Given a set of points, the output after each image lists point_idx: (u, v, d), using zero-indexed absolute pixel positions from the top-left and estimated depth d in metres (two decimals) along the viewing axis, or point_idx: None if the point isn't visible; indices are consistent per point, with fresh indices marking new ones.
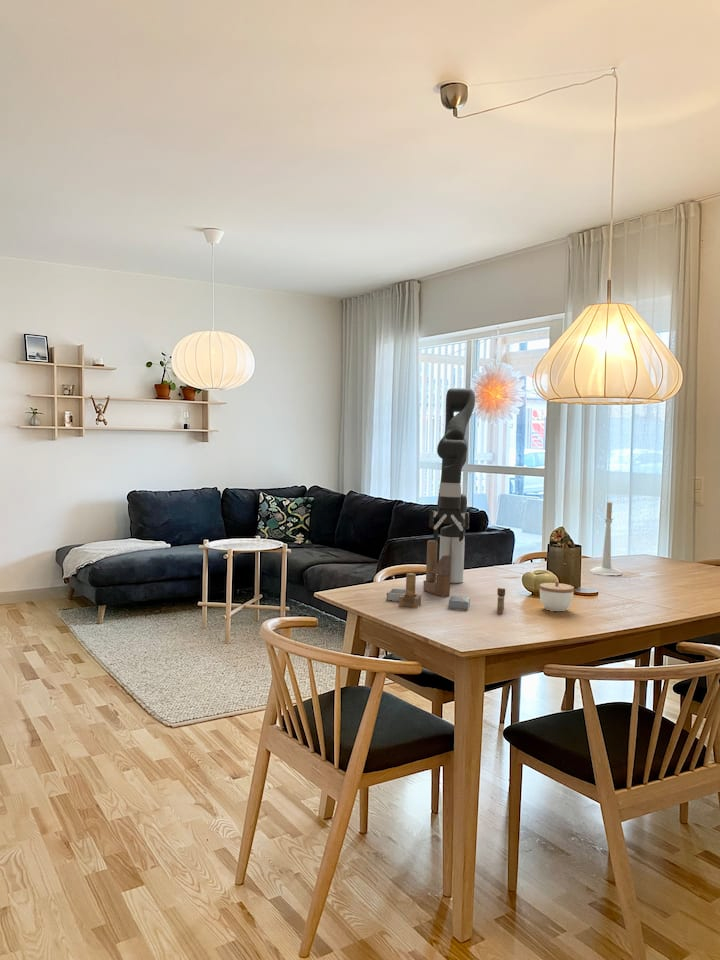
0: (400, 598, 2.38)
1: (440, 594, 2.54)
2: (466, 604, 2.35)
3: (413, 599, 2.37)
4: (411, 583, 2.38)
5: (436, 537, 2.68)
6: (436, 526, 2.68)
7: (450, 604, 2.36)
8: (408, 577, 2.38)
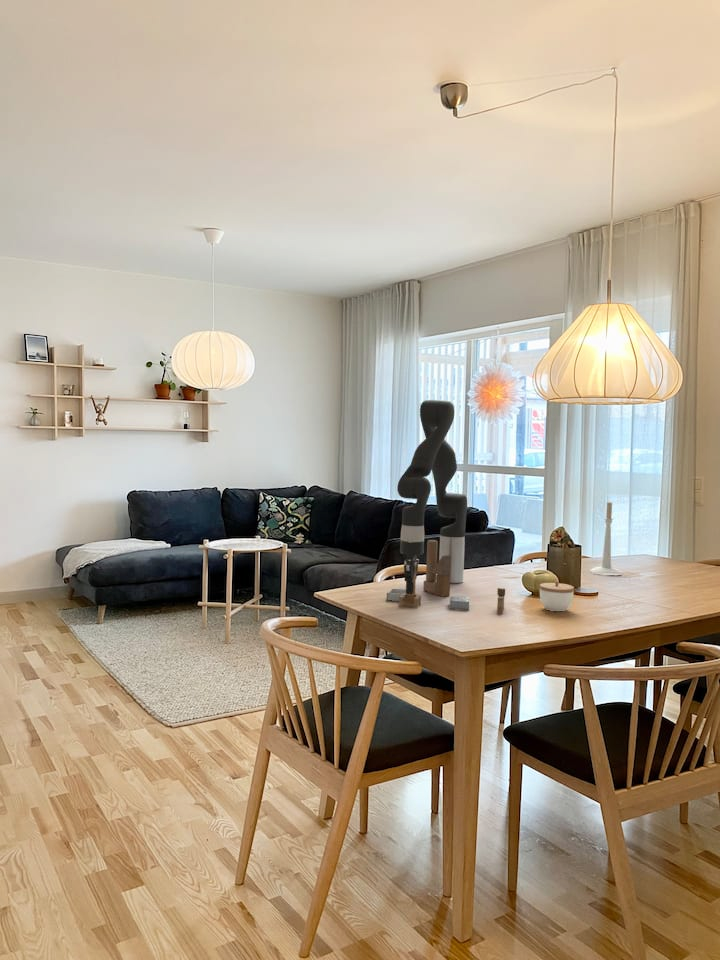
0: (400, 598, 2.38)
1: (440, 594, 2.54)
2: (467, 604, 2.35)
3: (413, 599, 2.37)
4: None
5: (412, 590, 2.38)
6: (413, 578, 2.38)
7: (451, 605, 2.36)
8: None
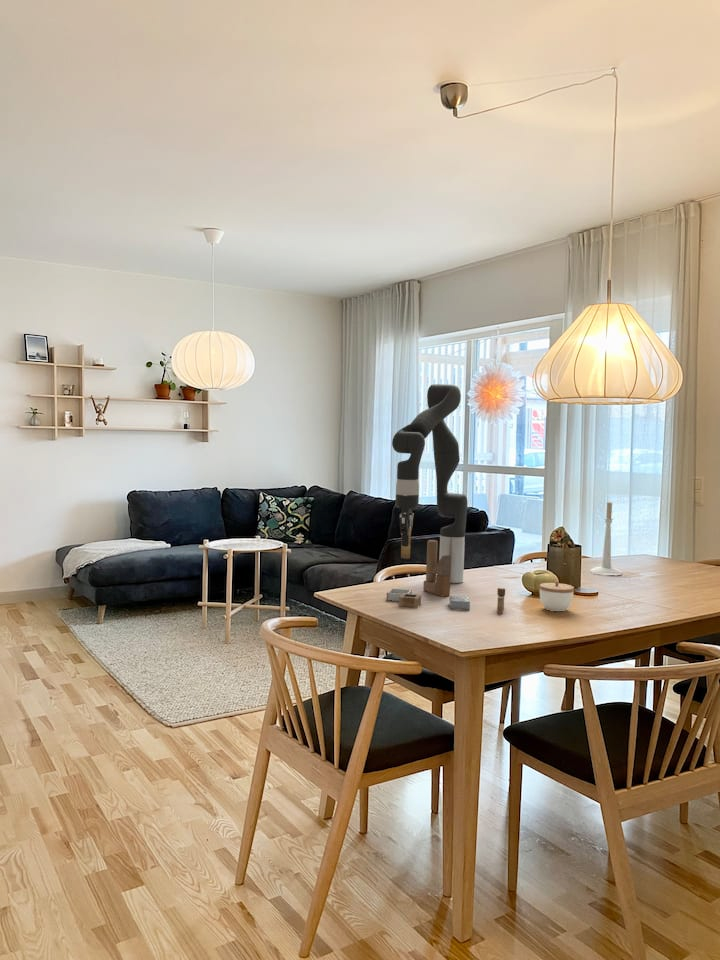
0: (400, 598, 2.38)
1: (440, 594, 2.54)
2: (468, 604, 2.36)
3: (413, 599, 2.37)
4: None
5: None
6: None
7: (452, 605, 2.36)
8: None
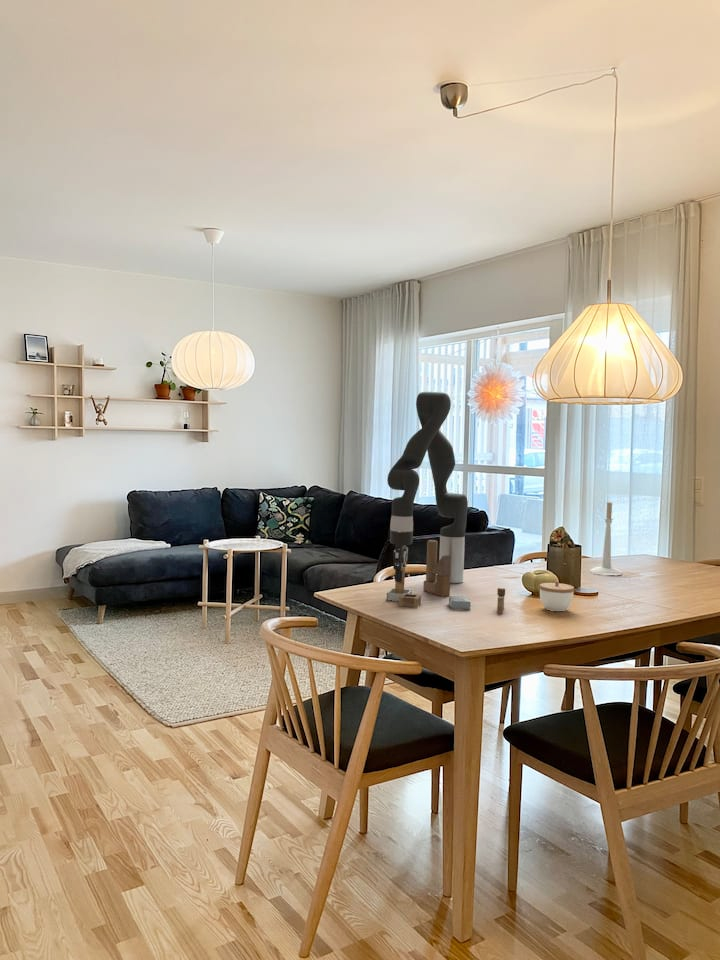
0: (400, 598, 2.38)
1: (440, 594, 2.54)
2: (469, 604, 2.36)
3: (413, 599, 2.37)
4: None
5: (401, 578, 2.45)
6: (402, 567, 2.45)
7: (453, 605, 2.36)
8: None
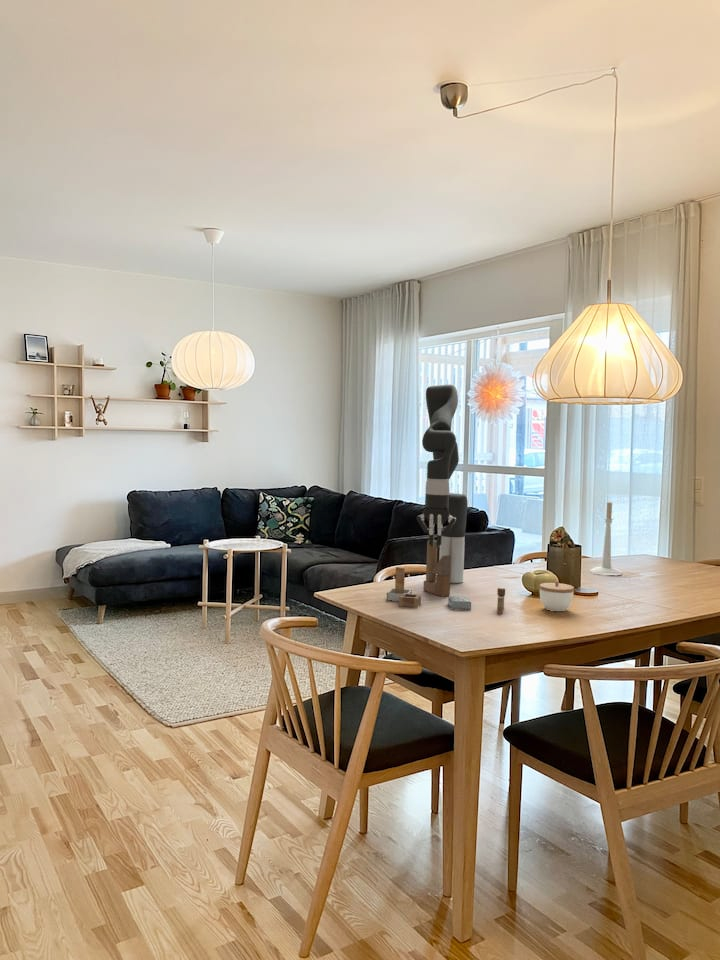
0: (400, 598, 2.38)
1: (440, 594, 2.54)
2: (469, 604, 2.36)
3: (413, 599, 2.37)
4: (400, 576, 2.47)
5: None
6: None
7: (454, 605, 2.36)
8: (397, 570, 2.47)
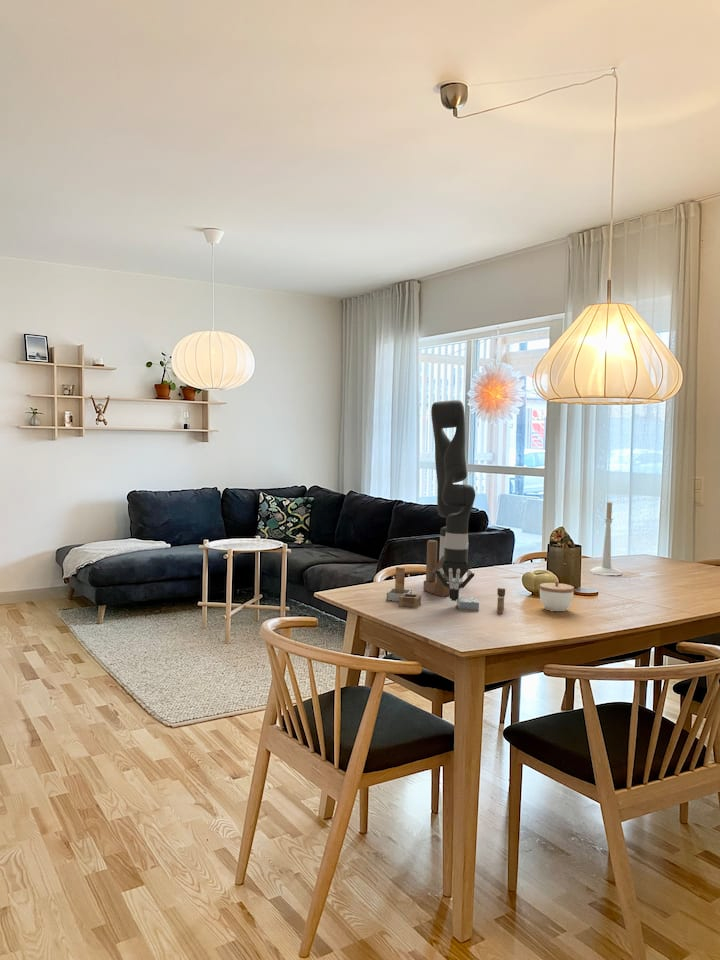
0: (400, 598, 2.38)
1: (440, 594, 2.54)
2: (477, 605, 2.35)
3: (413, 599, 2.37)
4: (400, 576, 2.47)
5: None
6: None
7: (461, 606, 2.35)
8: (397, 570, 2.47)
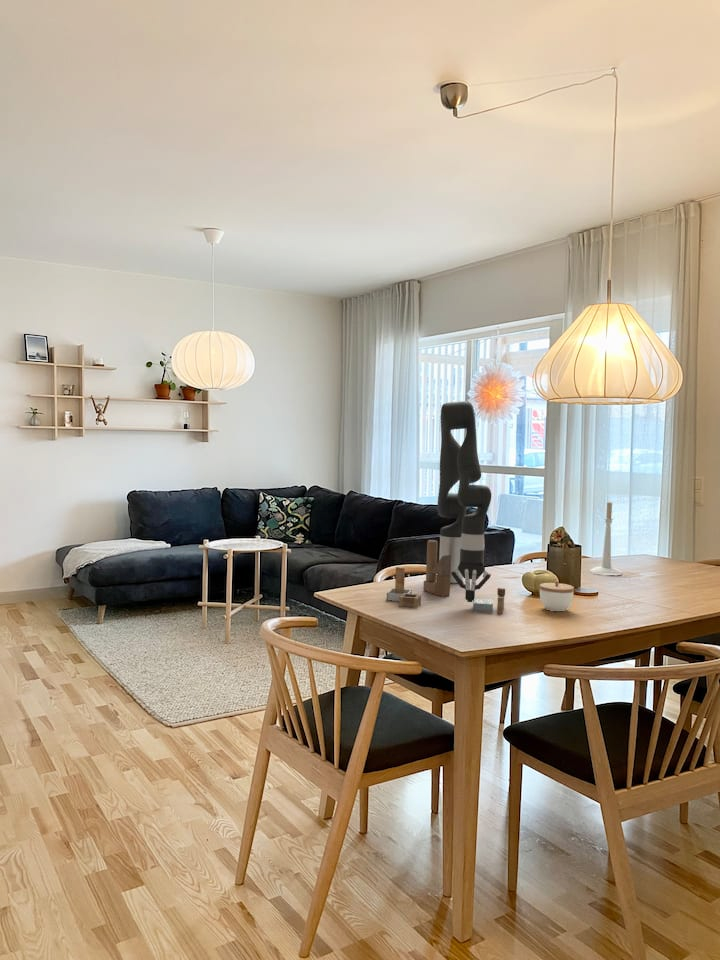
0: (400, 598, 2.38)
1: (440, 594, 2.54)
2: (491, 606, 2.33)
3: (413, 599, 2.37)
4: (400, 576, 2.47)
5: None
6: None
7: (474, 607, 2.34)
8: (397, 570, 2.47)
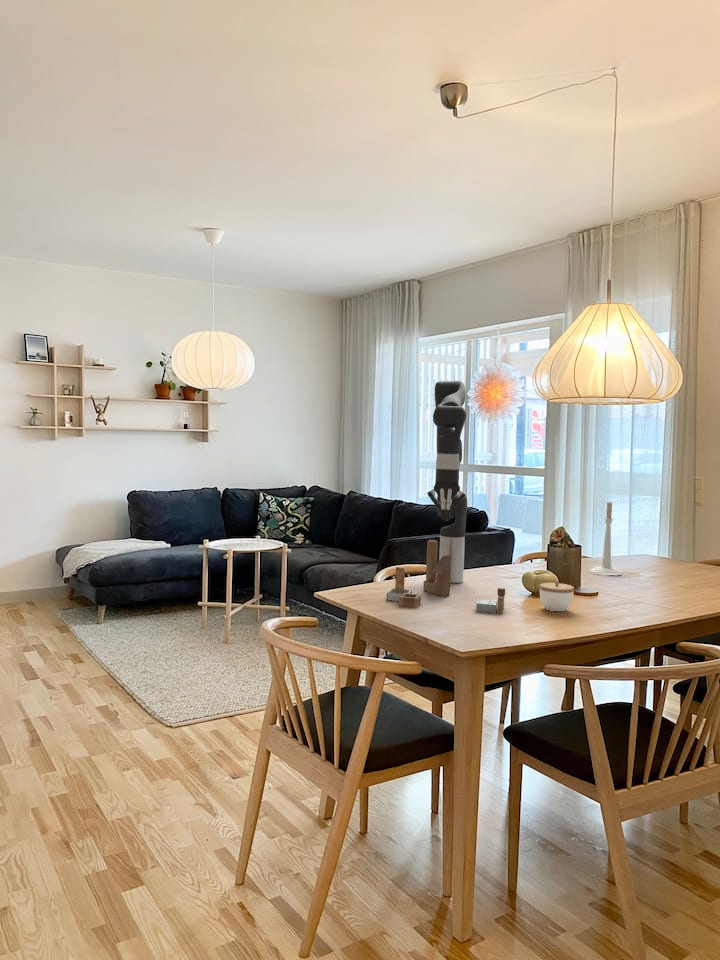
0: (400, 598, 2.38)
1: (440, 594, 2.54)
2: (494, 607, 2.32)
3: (413, 599, 2.37)
4: (400, 576, 2.47)
5: None
6: None
7: (478, 607, 2.33)
8: (397, 570, 2.47)
